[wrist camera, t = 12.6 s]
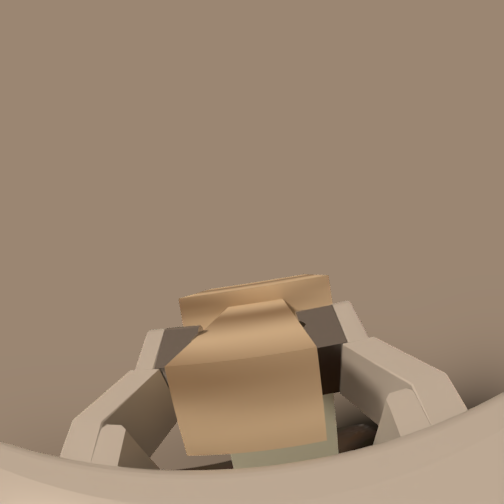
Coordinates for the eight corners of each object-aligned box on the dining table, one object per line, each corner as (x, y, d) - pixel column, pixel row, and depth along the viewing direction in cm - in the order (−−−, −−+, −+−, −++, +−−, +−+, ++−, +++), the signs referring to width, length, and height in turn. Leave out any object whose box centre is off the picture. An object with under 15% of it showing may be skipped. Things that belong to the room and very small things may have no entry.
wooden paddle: (439, 406, 5) (434, 278, 5) (85, 449, 5) (53, 334, 5) (309, 307, 23) (304, 274, 23) (216, 322, 23) (210, 289, 23)
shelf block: (259, 558, 24) (215, 385, 25) (260, 516, 33) (226, 358, 34) (341, 546, 23) (330, 368, 25) (330, 506, 32) (314, 344, 34)
